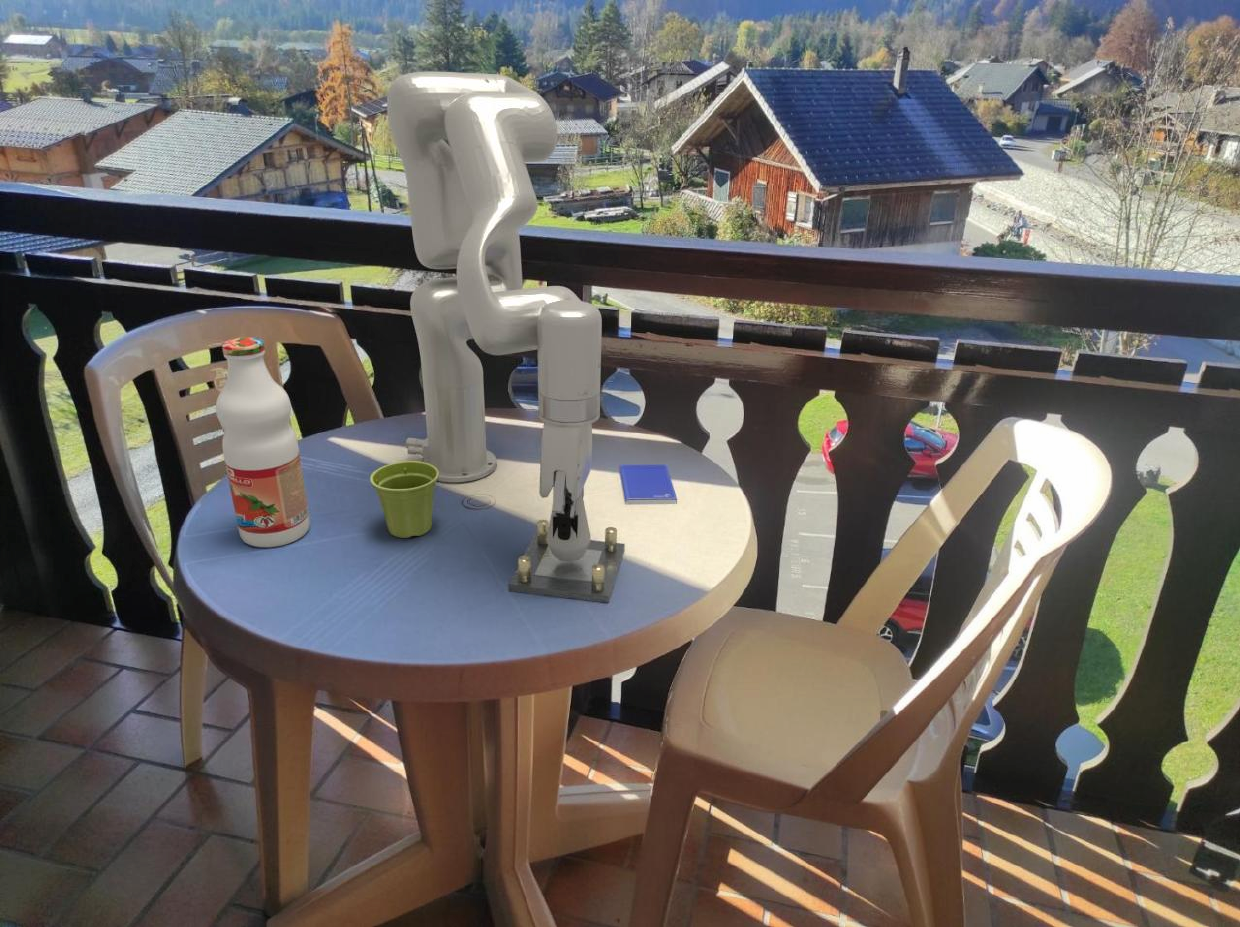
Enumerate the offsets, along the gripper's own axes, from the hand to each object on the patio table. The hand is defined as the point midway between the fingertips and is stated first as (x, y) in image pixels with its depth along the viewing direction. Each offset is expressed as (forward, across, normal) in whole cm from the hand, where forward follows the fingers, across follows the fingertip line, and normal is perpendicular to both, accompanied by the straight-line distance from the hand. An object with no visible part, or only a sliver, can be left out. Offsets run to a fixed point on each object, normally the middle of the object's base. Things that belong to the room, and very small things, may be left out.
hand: (568, 533), depth 106 cm
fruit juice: (+6, -1, -43) cm, 43 cm away
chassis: (+6, 0, 0) cm, 6 cm away
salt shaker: (+3, 0, 0) cm, 3 cm away
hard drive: (+6, -27, +7) cm, 28 cm away
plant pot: (+6, -6, -25) cm, 26 cm away
